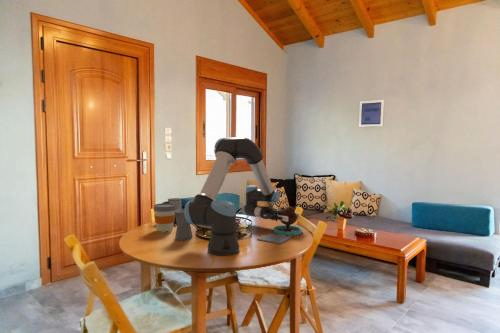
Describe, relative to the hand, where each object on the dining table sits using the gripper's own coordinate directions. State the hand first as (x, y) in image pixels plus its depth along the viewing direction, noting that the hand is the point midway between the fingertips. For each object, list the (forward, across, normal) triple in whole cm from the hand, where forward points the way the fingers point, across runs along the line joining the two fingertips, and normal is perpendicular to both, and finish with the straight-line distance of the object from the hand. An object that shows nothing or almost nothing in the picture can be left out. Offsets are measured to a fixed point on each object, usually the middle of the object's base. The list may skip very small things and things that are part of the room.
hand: (293, 217), depth 191 cm
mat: (-1, +17, -9) cm, 19 cm away
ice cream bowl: (-4, 0, -9) cm, 10 cm away
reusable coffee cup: (-60, +45, -9) cm, 76 cm away
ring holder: (-4, 0, -9) cm, 10 cm away
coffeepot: (-38, +48, -9) cm, 62 cm away
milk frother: (-71, +30, -9) cm, 78 cm away
